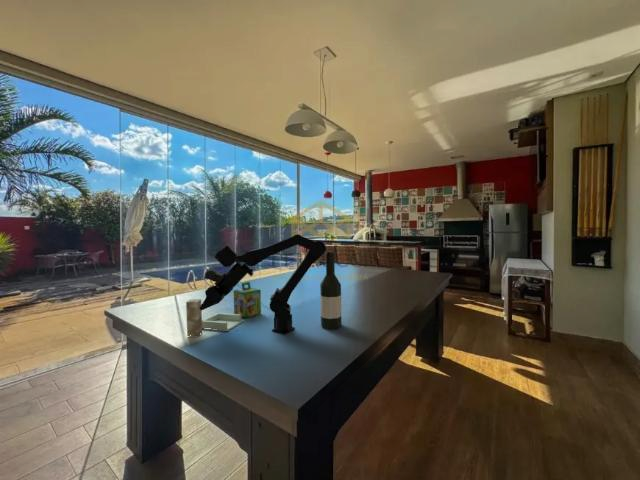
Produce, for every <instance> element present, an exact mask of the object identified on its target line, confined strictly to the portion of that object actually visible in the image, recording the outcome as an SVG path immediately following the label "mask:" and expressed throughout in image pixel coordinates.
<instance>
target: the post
mask: <svg viewBox="0 0 640 480" xmlns="http://www.w3.org/2000/svg"><path fill="white" fill-rule="evenodd" d="M185 303H186V304H185V307H186V309H185V310H186V332H187V333H186V335H187V336H190V335H191V336H199V335H200V333H201V332H202V333H203V329H202V320H203V317H202V314H203V312H202V311H203V310H200V309H199V308H200V306H201V305H202V299H201V298H197V299H196V298H194V299H193V298H192V299H189V300H187V301H186V302H185ZM202 333H201V334H202ZM187 336H186V337H187ZM200 336H201V335H200ZM200 336H199V337H200Z"/></svg>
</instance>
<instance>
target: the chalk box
mask: <svg viewBox="0 0 640 480" xmlns="http://www.w3.org/2000/svg"><path fill="white" fill-rule="evenodd" d="M245 286H247V287H245ZM261 294H262V293H261V289H259V288H258V289H257V288H253V287H252V288H251V283H250V281H246V282H242V283H241V288H240V289H233V314H241V318H245V319H248V318H250V317H253V316H257V315H260V313H261V314H262V305H261V303H262V300H261V299H262V296H261Z"/></svg>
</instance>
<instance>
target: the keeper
mask: <svg viewBox="0 0 640 480" xmlns="http://www.w3.org/2000/svg"><path fill="white" fill-rule="evenodd" d="M244 322H245V319H242V317H241V314H234V313H226V312H225V313H224V312H217V313H215V314H212V315H210V316H208V317H206V318H204V319H202V328H211V329H217V330H216V331H219V330H223V331H222V332H229V331H231V330H233V328H235V327H237V326H239V325H240V323H241V324H242V323H244ZM230 329H231V330H230Z"/></svg>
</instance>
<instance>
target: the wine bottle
mask: <svg viewBox="0 0 640 480" xmlns="http://www.w3.org/2000/svg"><path fill="white" fill-rule="evenodd" d="M335 265H336V264H335V252H334V251H333V250H326V253H325V276H324V277H323V279H322V281H321V283H320V286H319V287H320V325H321V328H322V329H325V330H338V329H340V328H341V327H342V285H341V282H340V281H339V279H338V277H337V276H336V273H335V270H336V268H335Z"/></svg>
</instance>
